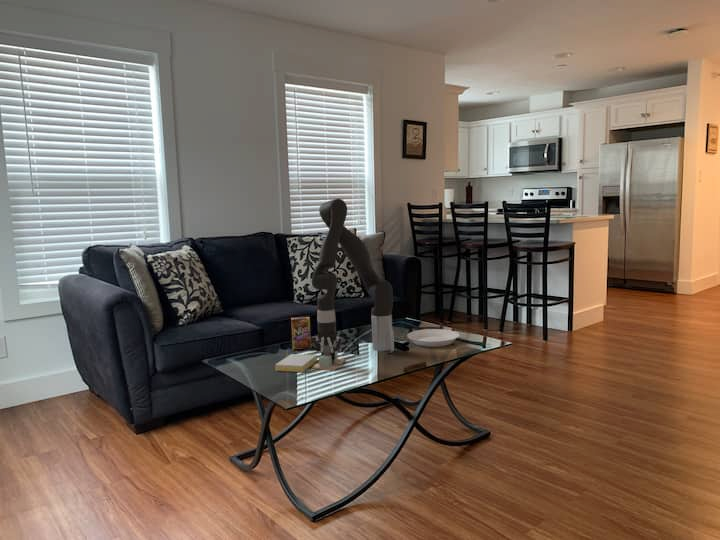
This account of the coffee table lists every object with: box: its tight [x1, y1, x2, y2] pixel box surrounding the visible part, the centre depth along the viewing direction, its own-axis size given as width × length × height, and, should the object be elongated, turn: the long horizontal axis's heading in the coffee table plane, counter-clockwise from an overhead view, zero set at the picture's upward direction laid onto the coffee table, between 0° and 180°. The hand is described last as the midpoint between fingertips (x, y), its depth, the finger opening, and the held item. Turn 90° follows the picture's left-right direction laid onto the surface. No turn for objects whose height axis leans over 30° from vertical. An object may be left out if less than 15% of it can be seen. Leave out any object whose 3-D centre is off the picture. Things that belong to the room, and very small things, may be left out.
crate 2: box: [333, 351, 339, 363], centre depth 236 cm, size 4×4×4 cm
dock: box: [274, 353, 318, 373], centre depth 234 cm, size 12×16×4 cm
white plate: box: [406, 328, 460, 348], centre depth 268 cm, size 25×25×4 cm
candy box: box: [290, 316, 312, 350], centre depth 266 cm, size 9×4×15 cm, turn 98°
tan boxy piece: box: [311, 344, 346, 371], centre depth 233 cm, size 14×10×10 cm
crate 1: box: [318, 355, 332, 368], centre depth 229 cm, size 4×4×4 cm
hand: (328, 360), depth 233 cm, fingers closed on tan boxy piece, 3 cm apart
